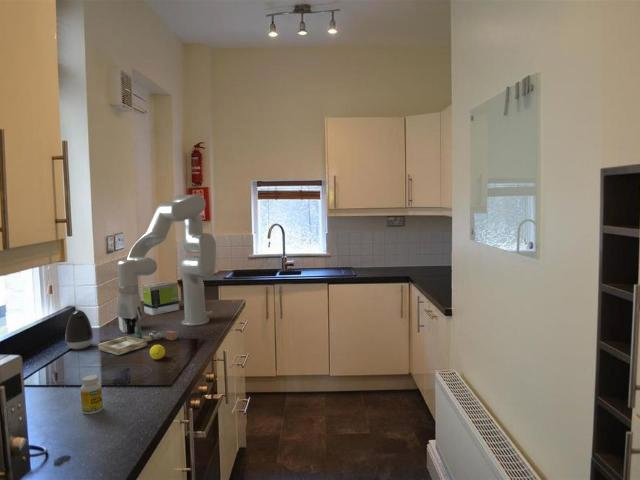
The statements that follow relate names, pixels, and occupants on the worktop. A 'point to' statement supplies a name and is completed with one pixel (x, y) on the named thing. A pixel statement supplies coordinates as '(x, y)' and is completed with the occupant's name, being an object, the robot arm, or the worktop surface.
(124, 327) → the skincare box
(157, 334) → the hub
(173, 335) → the pink rectangular block
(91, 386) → the supplement bottle
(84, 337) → the grey dome gadget
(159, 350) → the lemon
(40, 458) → the worktop surface
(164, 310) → the tea box
